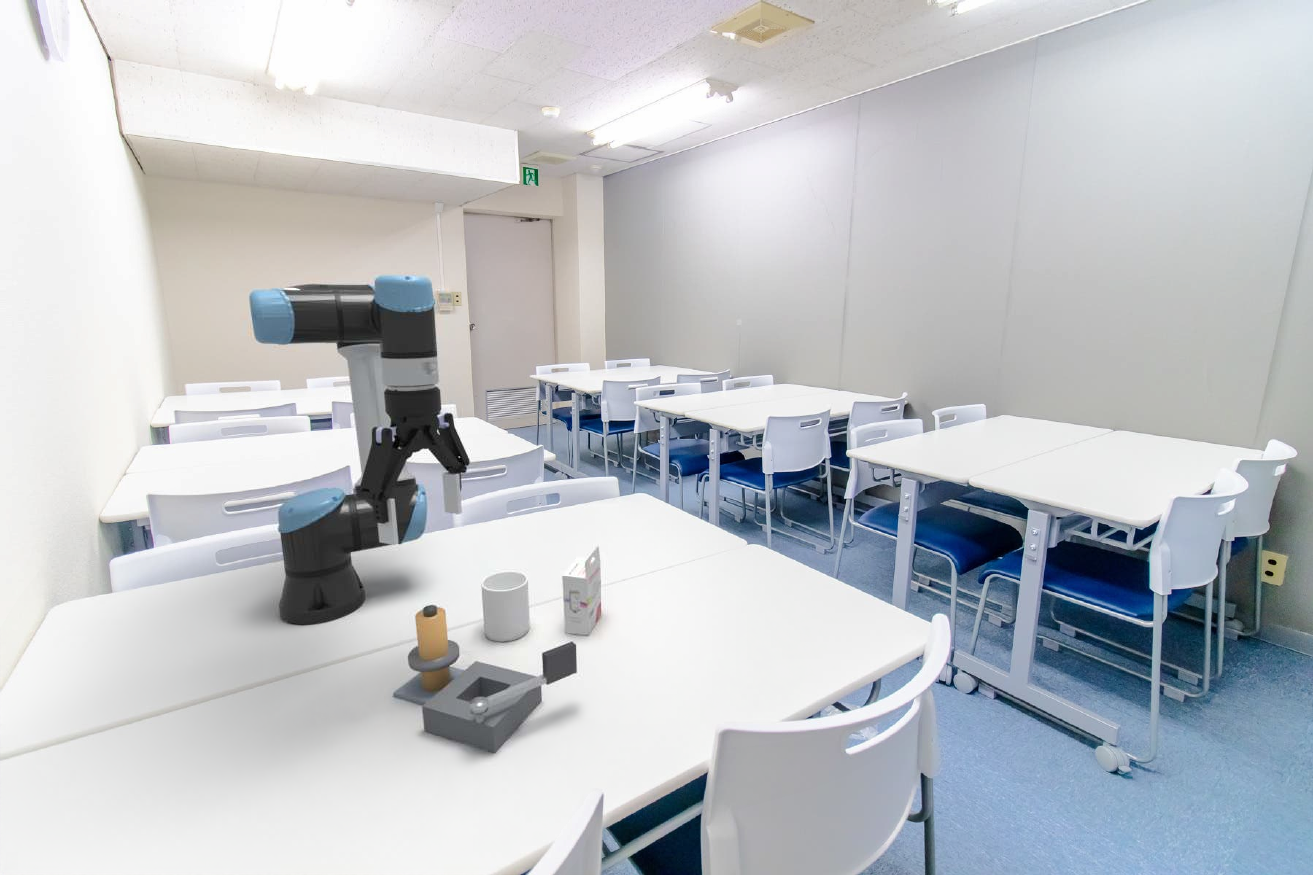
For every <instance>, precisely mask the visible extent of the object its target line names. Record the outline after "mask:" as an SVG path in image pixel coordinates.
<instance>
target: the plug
mask: <svg viewBox="0 0 1313 875" xmlns="http://www.w3.org/2000/svg"><path fill="white" fill-rule="evenodd" d="M446 615H447V614H446V609H444V608H443V607H439V606H438V605H435V604H430V605H426V606H425V607H423V608H422V610H420V611H418V612H417V613H416V614H415V615H414V616H415V618H414V619H415V626H416V627H415V628H416V637H417V638H416V639H417V646H415V647H413V648H412V649H411V650H410V651H409V653H408V656H407V660H408V666H409V668H410V669H411V670H412V671H415V672H418V673H420V672H421V682H422V688H423V689H424V690H426V691H438V690H442V689H443V688H444V687H446V686H447V685H448V684H449V683H450V682H451V672H450V666H452V665H453V664H455V663H456V662H457V661H458V659H459V657H460V646H459V644H458V643H457V642H456V641H454V640H450V639H448V627H447V616H446Z"/></svg>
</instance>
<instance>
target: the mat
mask: <svg viewBox="0 0 1313 875" xmlns="http://www.w3.org/2000/svg"><path fill="white" fill-rule="evenodd" d="M465 670H466V669H462V668H459V667H458V668H457V667H455V666H452V665H450V672H451V681H453V680H454V679H455V678H456V677H457V676H459V675H460V674H461V673H462V672H463V671H465ZM440 691H441V690H438V691H426V690H424V689H423V688H422V682H421V672H418V673H417V674H416V675H414V676H413V677H412V678H411V679H409V680H408V681H407V682H405V683H404V684H403V685H401V686H400V687H399V688H398V689H396V690H395V691H394V692H393V693H392V694H393V696H392V697H395V698H398V699H401V700H405V701H408V702H411V703H415V704H417V705H421V706H423V705H424V704H425V703H427V702H428V701H429V700H430V699H431V698H433V697H434V696H435V695H436V694H437V693H438V692H440Z"/></svg>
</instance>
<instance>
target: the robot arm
mask: <svg viewBox="0 0 1313 875" xmlns="http://www.w3.org/2000/svg"><path fill="white" fill-rule="evenodd" d="M248 298H249V299H248V300H249V308H250V314H251V315H250V316H251V321H252V328H253V335H254V338H255V340H256V342H258V343H260V344H264V345H265V344H266V345H267V344H268V345H271V344H272V345H273V344H274V345H280V346H283V345H295V344H336V349H337V353H338V354H339V355H340V356H342V357H343V358H344V359H345V360H346V361H347V369H348V377H349V384H350V385H349V386H350V393H351V400H352V401H351V402H352V408H353V416H354V417H353V418H354V424H355V432H356V442H357V447H358V456H359V463H360V470H361V472H360V473H361V475H360V477H359V479H358V480H357V481H356V482H355V483H354V490H355V493H351V494H346V492H345V491H344V490H343V489H342V488H340V487H331V488H329V487H324V488H318V489H315V490H314V489H313V490H310V491H306V492H304V493H301V494H298V495H295V496H293V497H291V498H289V499H287V500H285V501H284V502H283V503H282V504H281V505H280V506H279V508H278V512H277V519H278V520H277V521H278V527H277V530H278V533H279V534H280V542H281V551H282V558H283V567H284V573H285V579H284V582H283V587H282V592H281V598H280V600H279V603H278V610H279V615H280V618H281V620H283V621H284V620H285V622H286V621H287V623H289V624H293V623H297V624H296V625H311V624H312V625H313V624H318V623H319V624H320V623H323V622H324V623H325V622H330V621H333V620H336V619H339V618H342V617H344V616H346V615H349V614H351V613H352V612H354V611H355V610H358V608H360V607H361V606H362V605H363V604H364V603H365V601H366V591H365V586H364V584H363V583H362V581H361V579H360V576H359V575H358V573H357V571H356V569H355V567H354V565H353V562H352V553H355V552H360V551H366V550H371V549H372V550H373V549H377V548H383V547H388V546H395V545H403V543H404V544H405V543H408V542H413V541H416V540H418V539H421V537H422V536H423V534H424V533H425V529H426V526H427V521H428V520H427V518H428V517H427V516H428V499H427V493H426V488H425V486H424V485H423V484H420V483H417V481H416V479H417V478H416V476H415V475H414V474H413V473H412V472H410V471H408V469H407V464H406V463H407V460H409V459H410V458H412V456H413V453H414V454H415V453H418V452H420V451H421V450H427V449H428V451H430V453H431V454H432V455H433V456H434V457H435V459H436V461H438V462H439V463H440V465H441V466H442V467H443V468H444V469H445V470H446V472H445V471H444V472H442V473H441V474H442V475H441V476H442V486H443V487H442V489H443V500H444V501H443V502H444V513H448V514H454V515H460V514H462V513H463V510H462V496H461V495H462V494H461V491H462V475H461V474H465V473H466V472H467V470H468V466H469V465H470V464H471V460H470V458H469V455H468V454H467V451H466V448H465V447H464V445H463V442H462V439H461V438H460V435H459V433H458V431H457V429H456V426H455V420H454V415H453V414H452V413H450V412H441V411H442V399H441V396H442V395H441V389H440V388H439V387H438V386H436V385H437V384H438V383H440V379H439V378H440V377H439V364H438V347H437V344H438V343H437V331H436V330H437V329H436V327H437V326H436V316H435V314H436V313H435V305H436V299H435V298H434V292H433V284H432V281H431V280H430V279H429V277H427V276H423V275H406V274H405V275H404V274H400V275H399V274H390V275H389V274H386V275H384V274H382V275H379V276H377V277H376V278H375V279H374V285H371V284H368V283H367V284H325V283H324V284H320V283H319V284H318V283H306V284H300V285H299V284H298V285H292V286H287V287H282V288H270V289H255V290H253V291H252V292H250V293H249V297H248Z"/></svg>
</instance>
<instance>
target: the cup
mask: <svg viewBox="0 0 1313 875" xmlns="http://www.w3.org/2000/svg"><path fill="white" fill-rule="evenodd" d="M480 585H481V599H482V600H481V602H482V614H483V630H484V634H485V636H486V637H487V638H488V639H489V640H491V641H494V642H498V643H504V642H505V643H506V642H512V641H516V640H518V639H521V638H522V637H524V636H526V634H527V633H528V632H529V630H530V625H531V624H530V620H531V619H530V601H529V600H530V599H529V598H530V597H529V578H528V576H527V575H526V574H525V573H523V572H521V571H513V570H507V571H506V570H505V571H499V572H495V573H491V574H489V575H487V576H486V577H484V578H483V579H482V581H481V583H480Z"/></svg>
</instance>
